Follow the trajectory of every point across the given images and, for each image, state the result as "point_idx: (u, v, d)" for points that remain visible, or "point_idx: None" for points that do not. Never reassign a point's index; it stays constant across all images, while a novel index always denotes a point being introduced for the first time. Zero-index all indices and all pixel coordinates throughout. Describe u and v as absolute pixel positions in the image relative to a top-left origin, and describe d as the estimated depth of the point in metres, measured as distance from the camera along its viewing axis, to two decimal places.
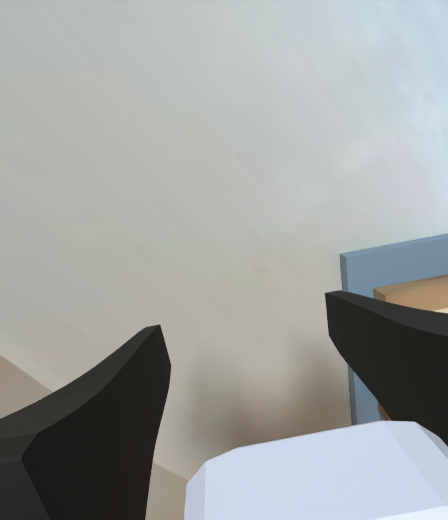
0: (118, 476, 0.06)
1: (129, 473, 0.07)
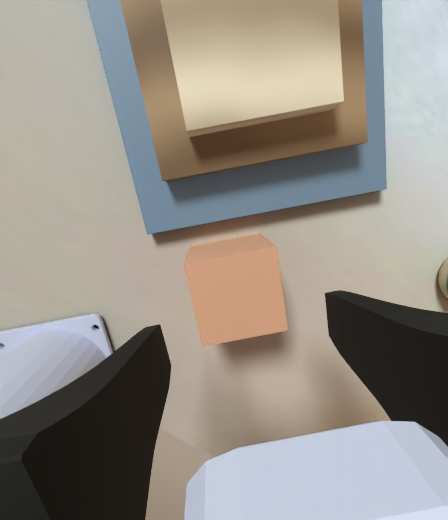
0: (118, 476, 0.06)
1: (129, 473, 0.07)
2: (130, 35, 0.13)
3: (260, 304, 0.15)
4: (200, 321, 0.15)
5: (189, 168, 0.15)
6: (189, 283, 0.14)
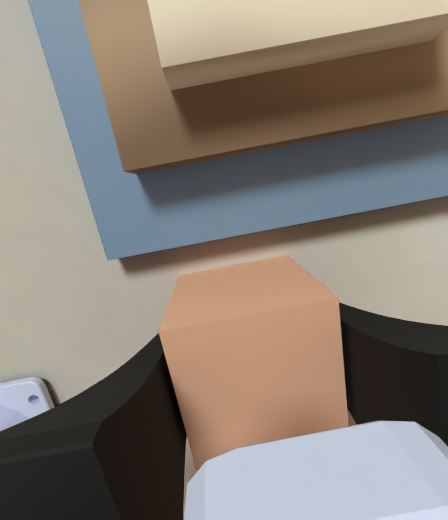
0: (161, 468, 0.06)
1: (169, 465, 0.07)
2: None
3: (302, 399, 0.08)
4: (191, 429, 0.08)
5: (172, 148, 0.08)
6: (170, 365, 0.07)
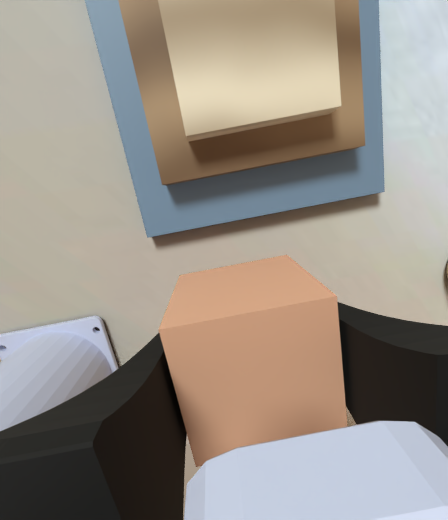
0: (161, 468, 0.06)
1: (169, 465, 0.07)
2: (130, 41, 0.14)
3: (301, 397, 0.08)
4: (191, 426, 0.08)
5: (188, 172, 0.15)
6: (170, 362, 0.08)
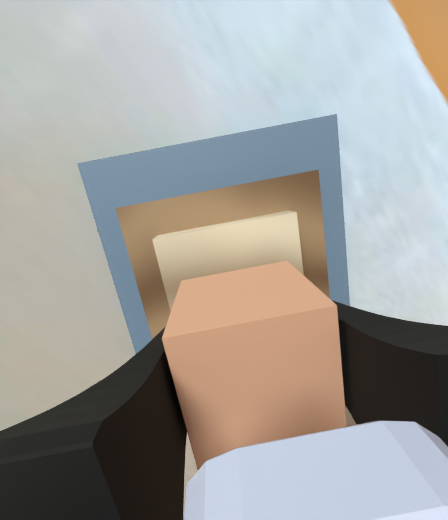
0: (162, 468, 0.06)
1: (169, 465, 0.07)
2: (138, 285, 0.17)
3: (301, 403, 0.08)
4: (194, 432, 0.08)
5: None
6: (173, 370, 0.08)
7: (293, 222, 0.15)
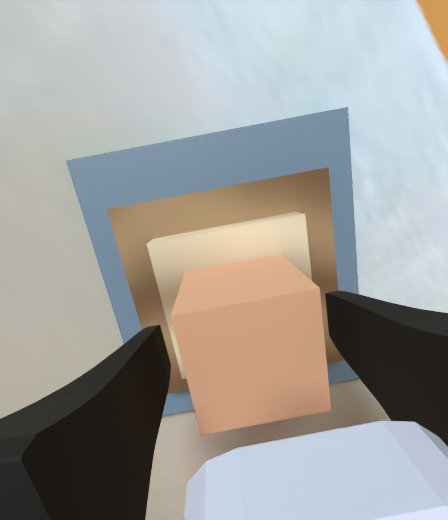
0: (118, 476, 0.06)
1: (129, 473, 0.07)
2: (133, 292, 0.15)
3: (290, 374, 0.09)
4: (197, 399, 0.10)
5: (185, 385, 0.17)
6: (179, 344, 0.09)
7: (301, 225, 0.13)
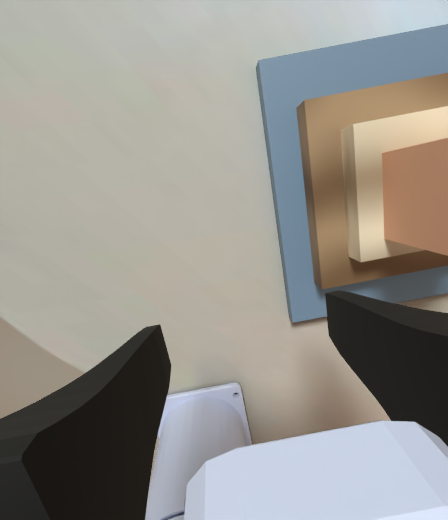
0: (118, 476, 0.06)
1: (129, 473, 0.07)
2: (313, 184, 0.17)
3: None
4: None
5: (345, 279, 0.18)
6: None
7: None
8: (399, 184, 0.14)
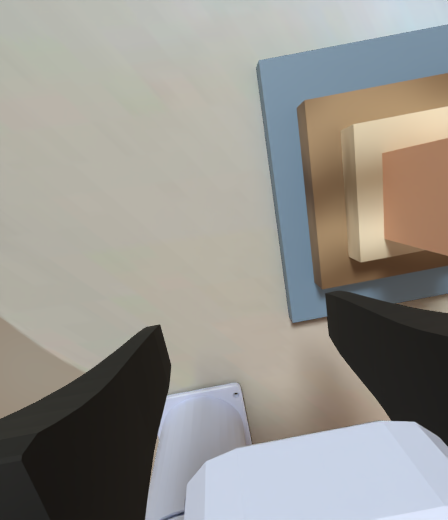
0: (118, 476, 0.06)
1: (129, 473, 0.07)
2: (313, 184, 0.17)
3: None
4: None
5: (345, 279, 0.18)
6: None
7: None
8: (399, 184, 0.14)
